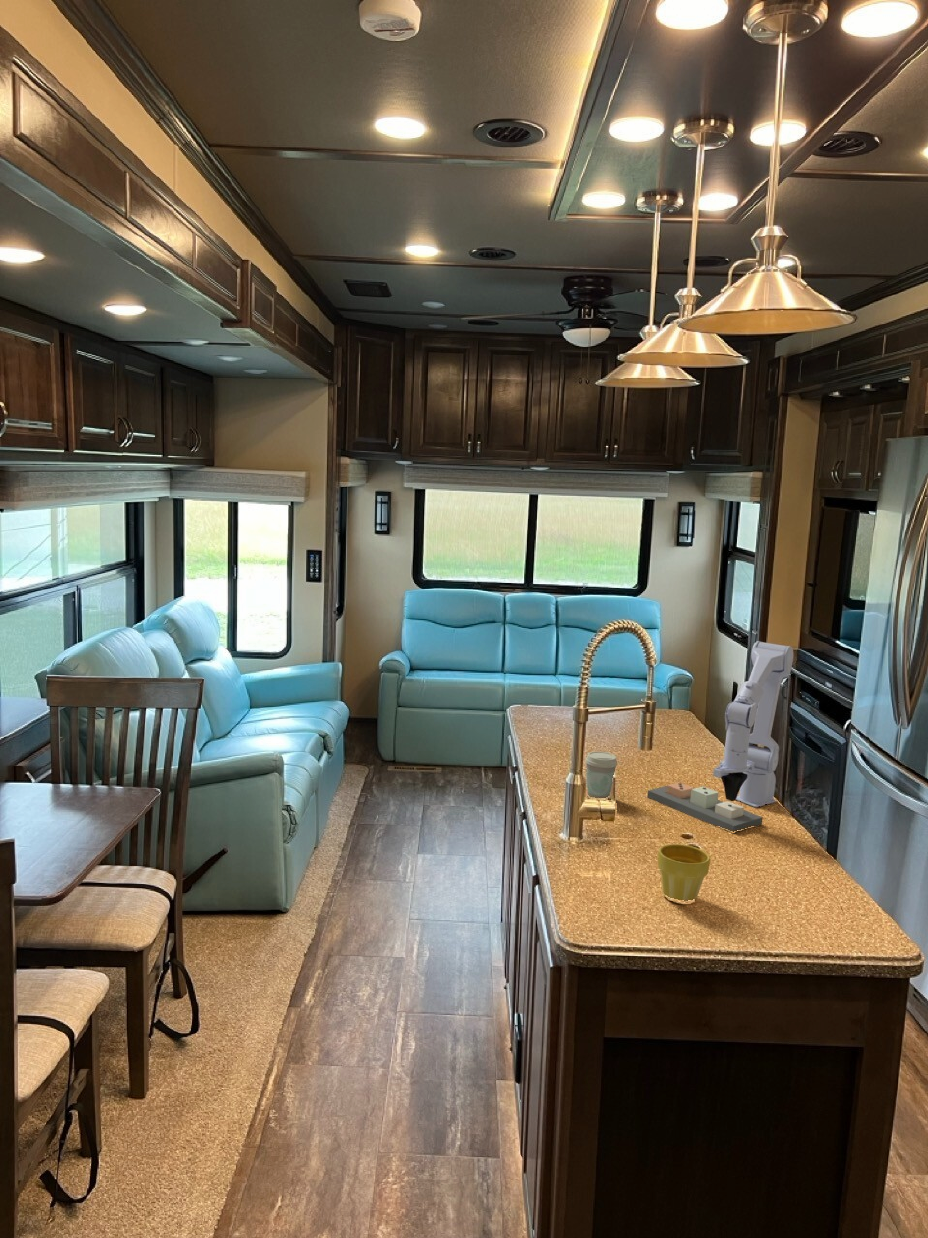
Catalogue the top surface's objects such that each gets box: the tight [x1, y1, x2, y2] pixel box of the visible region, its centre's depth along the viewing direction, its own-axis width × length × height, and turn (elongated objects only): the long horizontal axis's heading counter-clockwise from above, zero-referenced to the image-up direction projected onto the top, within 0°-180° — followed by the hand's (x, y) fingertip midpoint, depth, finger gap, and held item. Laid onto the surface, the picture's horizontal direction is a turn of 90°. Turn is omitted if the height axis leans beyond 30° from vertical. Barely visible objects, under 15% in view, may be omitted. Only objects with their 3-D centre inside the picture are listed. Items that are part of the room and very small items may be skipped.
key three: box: [666, 781, 695, 799], centre depth 245 cm, size 5×5×4 cm
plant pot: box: [657, 843, 711, 901], centre depth 187 cm, size 10×10×10 cm
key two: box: [690, 786, 720, 809], centre depth 238 cm, size 5×5×4 cm
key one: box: [715, 800, 745, 819], centre depth 232 cm, size 5×5×4 cm
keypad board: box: [646, 785, 763, 832], centre depth 239 cm, size 12×28×2 cm, turn 37°
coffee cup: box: [585, 750, 618, 798], centre depth 242 cm, size 8×9×12 cm
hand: (730, 799), depth 232 cm, fingers closed
